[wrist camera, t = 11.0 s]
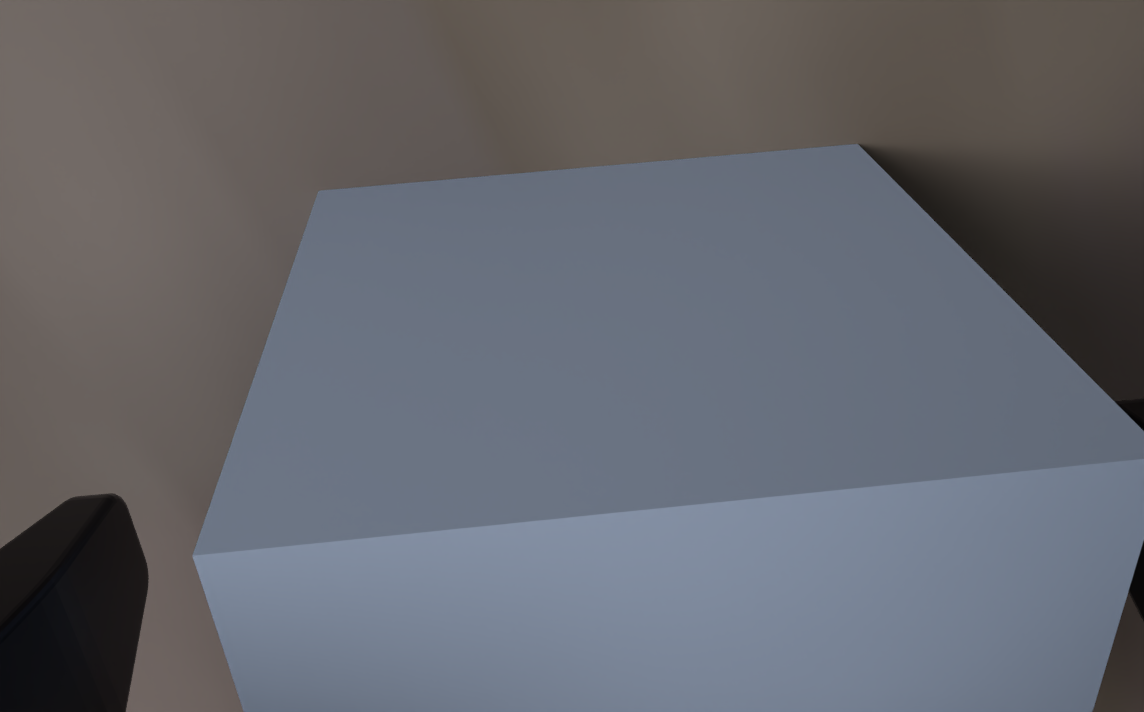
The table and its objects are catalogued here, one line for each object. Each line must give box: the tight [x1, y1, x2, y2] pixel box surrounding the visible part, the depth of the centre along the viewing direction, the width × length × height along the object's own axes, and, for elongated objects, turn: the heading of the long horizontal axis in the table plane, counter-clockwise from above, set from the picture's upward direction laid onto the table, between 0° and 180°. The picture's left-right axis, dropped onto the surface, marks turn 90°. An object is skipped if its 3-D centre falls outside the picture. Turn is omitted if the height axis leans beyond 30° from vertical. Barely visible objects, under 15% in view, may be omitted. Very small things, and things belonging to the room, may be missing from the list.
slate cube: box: [193, 144, 1144, 712], centre depth 9 cm, size 5×5×5 cm
